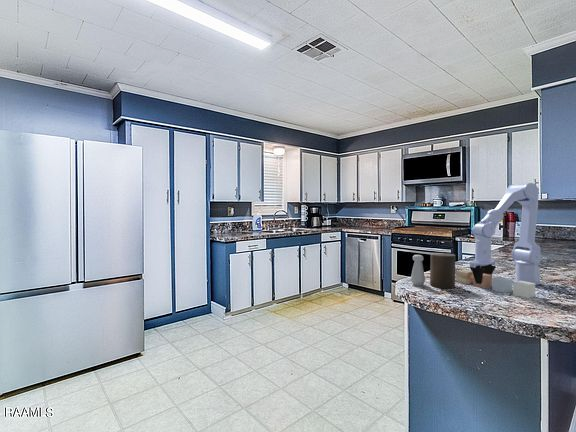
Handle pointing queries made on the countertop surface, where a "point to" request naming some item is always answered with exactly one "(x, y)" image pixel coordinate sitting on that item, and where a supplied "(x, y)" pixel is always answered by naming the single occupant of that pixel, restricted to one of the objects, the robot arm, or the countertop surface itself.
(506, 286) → the blue-grey block
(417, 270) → the salt shaker
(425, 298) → the countertop surface
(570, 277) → the countertop surface
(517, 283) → the cream block
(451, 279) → the pillar candle
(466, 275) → the maple block
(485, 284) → the terracotta block
